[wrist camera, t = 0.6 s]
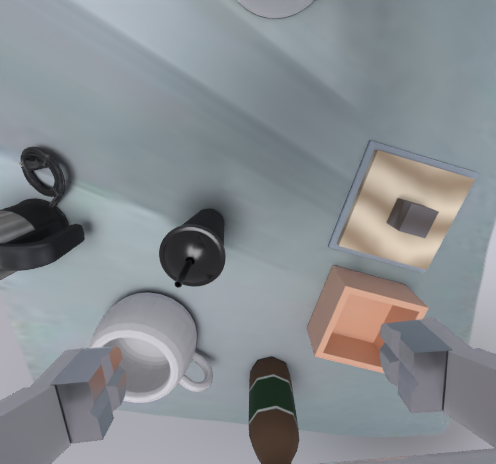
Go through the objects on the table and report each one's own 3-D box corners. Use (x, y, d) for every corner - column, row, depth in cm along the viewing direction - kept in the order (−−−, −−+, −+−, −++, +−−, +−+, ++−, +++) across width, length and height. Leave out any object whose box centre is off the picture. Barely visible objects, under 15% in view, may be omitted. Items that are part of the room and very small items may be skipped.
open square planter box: (332, 265, 48) (345, 286, 41) (405, 284, 49) (428, 308, 42) (306, 328, 52) (314, 356, 45) (373, 344, 53) (391, 375, 46)
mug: (94, 338, 54) (60, 382, 44) (131, 270, 49) (102, 302, 39) (194, 387, 57) (183, 437, 47) (238, 327, 52) (235, 370, 43)
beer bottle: (292, 357, 54) (320, 518, 31) (287, 389, 56) (309, 559, 34) (251, 353, 54) (249, 513, 31) (248, 385, 56) (244, 554, 34)
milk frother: (31, 258, 49) (-60, 308, 34) (-23, 167, 44) (-153, 182, 30) (106, 235, 47) (43, 278, 33) (59, 139, 42) (-38, 140, 28)
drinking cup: (241, 234, 46) (232, 301, 27) (200, 252, 48) (164, 329, 29) (219, 191, 44) (194, 233, 25) (177, 212, 45) (121, 266, 26)
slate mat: (369, 140, 41) (370, 140, 41) (476, 172, 43) (478, 173, 42) (327, 246, 47) (328, 247, 46) (423, 272, 48) (425, 273, 47)
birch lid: (374, 149, 41) (390, 151, 36) (469, 178, 42) (497, 183, 37) (336, 243, 46) (346, 256, 41) (422, 266, 47) (442, 282, 42)
